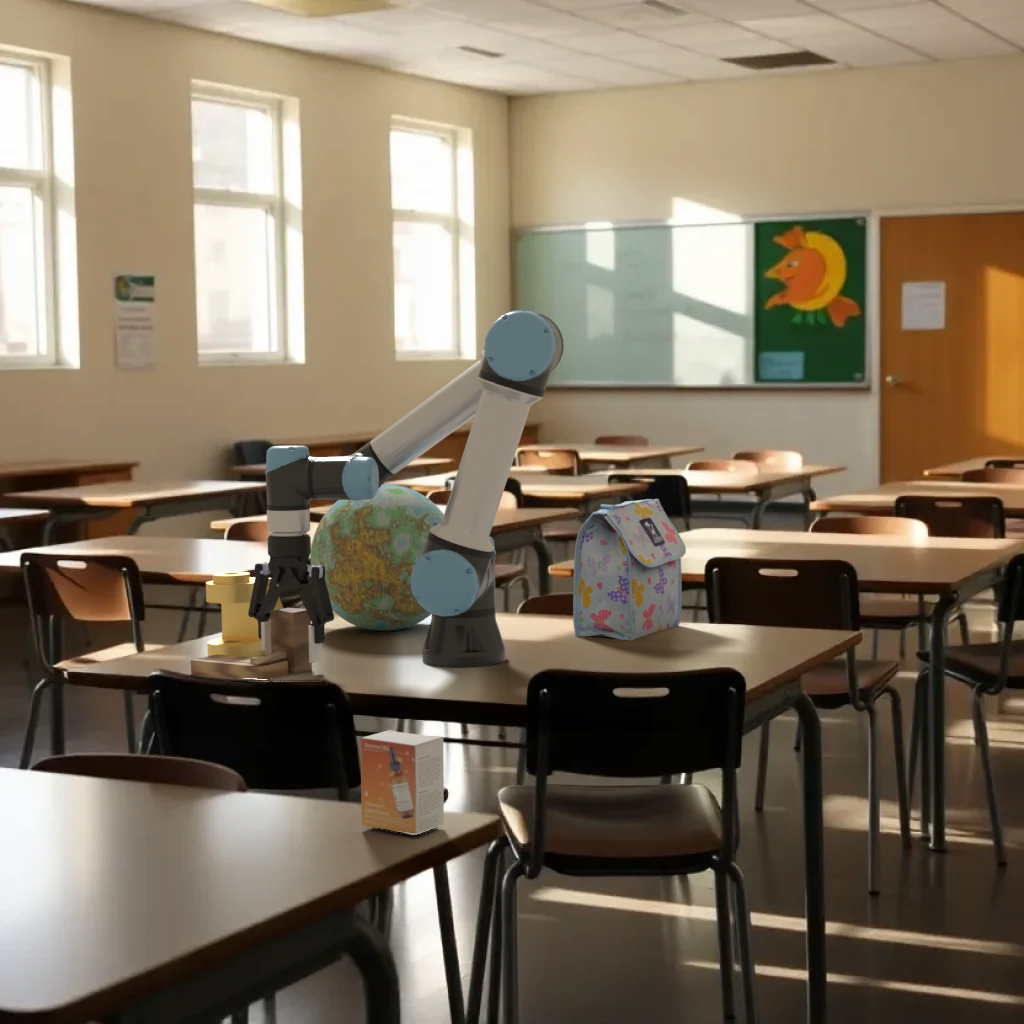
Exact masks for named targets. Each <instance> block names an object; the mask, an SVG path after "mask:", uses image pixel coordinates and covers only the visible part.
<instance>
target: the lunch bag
mask: <svg viewBox="0 0 1024 1024" xmlns="http://www.w3.org/2000/svg"><path fill="white" fill-rule="evenodd" d="M686 552H687V548H686V544H685V542H684V540H683V539H682V538H681V535H680V534H679V532H678V530H677V529H676V527H675V526H674V524H673V523H672V521H671V520H670V519H669V516H668V515H667V513H666V512H665V510H664V507H663V506H662V505H661V502H660V499H659V498H655V499H653V498H650V499H649V498H646V499H640V500H629V501H628V500H627V501H623V502H621V503H619V504H605V503H602V504H600V509H598V510H597V511H593V512H592V513H591V514H590V516H589V517H588V518H587V519H586V520H585V521H584V522H583V524H582V525H581V527H580V528H579V530H578V533H577V537H576V540H575V546H574V563H573V565H574V566H573V595H572V596H573V599H572V600H573V601H572V604H573V608H572V610H573V611H572V612H573V613H572V614H573V619H572V620H573V623H572V624H573V629H574V635H575V637H585V636H587V637H608V638H613V639H615V640H616V639H617V640H621V641H622V640H623V641H625V640H626V641H634V640H638V639H640V638H643V637H646V636H648V635H651V634H655V633H658V632H662V631H665V630H668V628H669V629H673V628H676V627H679V625H680V622H681V618H682V617H681V616H682V593H683V591H682V584H683V583H682V578H683V577H682V560H681V559H682V558H683V557H684V556H685V554H686Z"/></svg>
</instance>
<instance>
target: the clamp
mask: <svg viewBox="0 0 1024 1024" xmlns="http://www.w3.org/2000/svg"><path fill="white" fill-rule="evenodd" d="M250 575H251V573H250V572H248V571H222V572H215V573H212V580H210V581H206V582H205V597H206V599H205V601H206V603H208V604H209V603H210V604H219V605H220V604H221V637H218V638H216V639H211V640H209V641H207V657H208V656H212V655H228V656H239V657H250V658H252V657H256V656H261V651H262V643H261V639H259V636H258V621H257V619H255V618H253V617H249V615H248V612H249V607H250V602H251V597H252V592H253V587H254V582H255V576H253V577H252V576H250ZM271 578H272V577H269V581H268V586H267V591H268V589H269V583H270V581H271ZM267 591H266V594H267ZM279 609H284V605H283V603H282V600H281V598H280V596H279V598H278V601H277V603H276V605H275V608H274V610H279ZM274 610H273V611H274ZM269 620H271V619H269ZM269 620H268V621H269Z"/></svg>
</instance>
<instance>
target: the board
mask: <svg viewBox="0 0 1024 1024" xmlns="http://www.w3.org/2000/svg"><path fill="white" fill-rule="evenodd" d="M191 673H192V674H191ZM190 674H191V675H197V674H198V675H197V676H208V677H210V676H211V677H217V678H228V679H237V678H257V679H270V680H272V679H271V678H273V679H276V678H281V677H284V676H288V675H289V674H288V661H284V660H274V661H270V662H266V663H261V664H250V657H239V656H228V655H212V656H208V655H207V656H203V657H198V658H195V659H190Z"/></svg>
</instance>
